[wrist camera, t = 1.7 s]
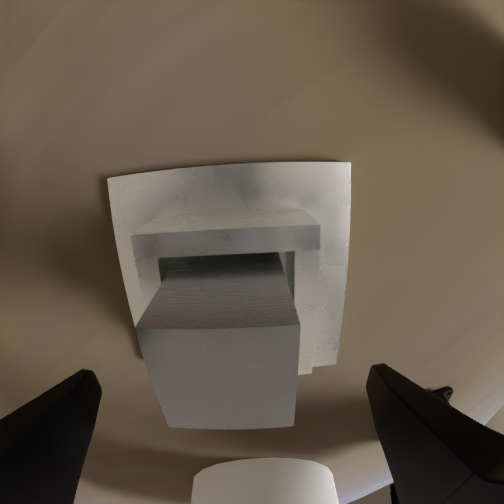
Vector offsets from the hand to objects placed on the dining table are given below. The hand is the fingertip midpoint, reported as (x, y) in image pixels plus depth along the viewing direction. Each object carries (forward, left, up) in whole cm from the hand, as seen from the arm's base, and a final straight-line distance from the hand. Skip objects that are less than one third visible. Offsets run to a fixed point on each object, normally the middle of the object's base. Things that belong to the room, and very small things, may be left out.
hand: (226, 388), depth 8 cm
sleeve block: (0, 0, -8) cm, 8 cm away
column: (0, 0, -7) cm, 7 cm away
